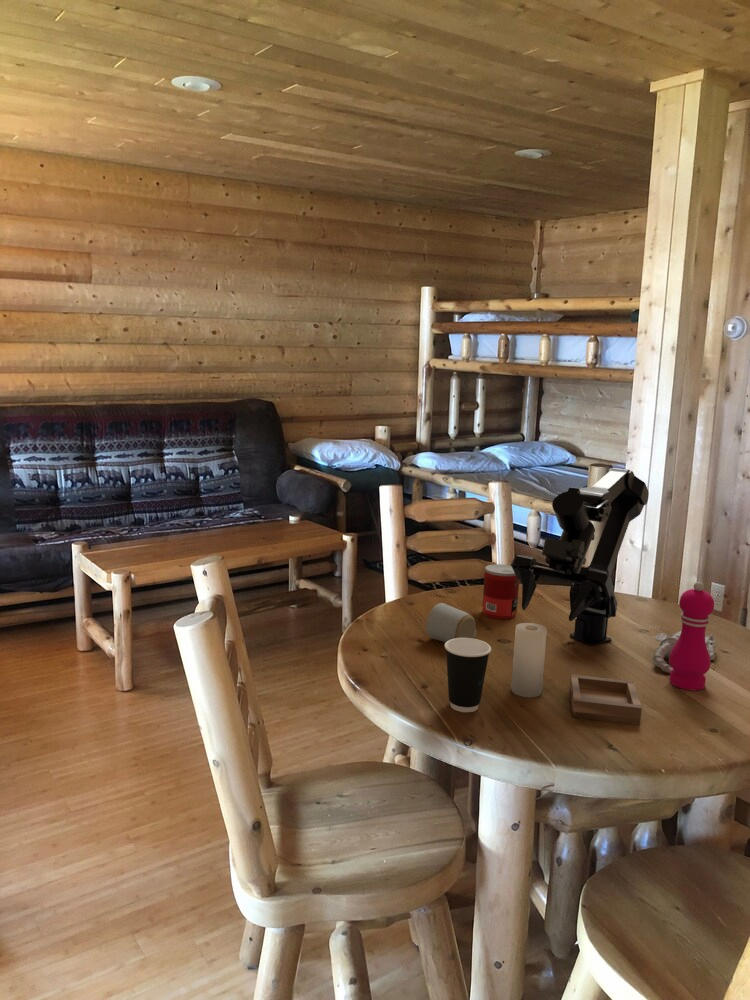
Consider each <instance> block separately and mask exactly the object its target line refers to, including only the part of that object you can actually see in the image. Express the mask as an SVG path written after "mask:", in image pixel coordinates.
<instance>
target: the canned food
mask: <svg viewBox="0 0 750 1000" xmlns="http://www.w3.org/2000/svg"><path fill="white" fill-rule="evenodd" d="M519 590H520V580H519V579H517V577H516V575H515V573H514V571H513V568H512V566H511V565H509V564H503V563H502V564H501V563H500V564H499V563H497V564H496V563H495V564H489V565H486V566H485V569H484V576H483V594H482V613H483V615H484V616H486V617H488V618H491V619H495V620H510V619H513V618H515V617H516V616H517V612H518V602H519V601H518V600H519Z"/></svg>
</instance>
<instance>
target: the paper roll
mask: <svg viewBox="0 0 750 1000" xmlns="http://www.w3.org/2000/svg"><path fill="white" fill-rule="evenodd" d="M547 632H548V629H547V628H546V626H544V625H541V624H539V623H533V622H520V623H518V624H516V625H515V633H514V645H513V647H514V648H513V660H512V670H511V671H512V673H511V686H510V691H511V692H512V693H513V694H515V695H517V696H520V697H522V698H537V697H540V696H541V695H542V694H543V681H544V680H543V679H544V672H545V671H544V670H545V669H544V668H545V657H546V646H547V645H546V644H547V634H548V633H547Z"/></svg>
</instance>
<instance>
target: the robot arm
mask: <svg viewBox="0 0 750 1000" xmlns="http://www.w3.org/2000/svg"><path fill="white" fill-rule="evenodd" d="M649 495H650V494H649V489H648V486H647V484H646V483H645V481H643V480H642V479H640V478H639V477H637V476H636V475H635V474H634V472H633V470H631V469H627V468H619V467H612V468H608V470H607V471H606V474H605V475H603V476H602V477H601V478H600V479H599V480H598V481H597V482H596V483H594V484H593V485H592V486H589V487H588V486H587V487H580V488H578V487H574V486H573V487H572V486H569V487H568V490H567V491H564V492H561V493H559V494H558V495H557V496H556V497H554V499H553V500H552V503H551V507H552V509H553V512H554V515H555V517H556V521H557V524H558V526H559V528H560V529H562V532H561V534H560V538H559V539H554V538H549V537H545V539H544V543H543V547H542V551H541V555H542V556H545V560H544V561H545V563H546V564H548V567H547V566H542V565H539V564H538V563H537V560H536V558H535V557H531V556H529V555H528V556H527V555H521V554H517V555H515V556H514V557H513V559H512V561H511V563H510V566H512V568H513V571H514V573H515V575H516V577H517V579H519V582H520V583H521V586H522V588H521V590H522V591H521V592H522V593H521V608H522V609H521V610H523V611H526V609H527V608H528V607H529V605H530V603H531V600H532V598H533V596H534V593H535V591H536V588H537V587H538V585H537V583H536V582H538V580H539V579H540V578H539V577H543V578H547V579H552V580H556V581H562V582H566V583H570V584H571V583H572V584H571V586H570V589H569V607H570V612H569V615H568V620H569V622H573V620H574V630H573V631H574V632H570V633H569V637H571V638H573V639H575V640H577V641H579V642H581V643H584V644H586V645H589V646H595V645H600V644H604V643H609V642H612V640H613V639H612V638H611V637H608V636H607V635H608V634H607V633H608V632H607V631H608V624H609V623H608V622H609V619H610V618H615V617H616V616H617V609H618V602H617V599H616V595H615V593H614V590H615V588H614V584H613V581H612V578H611V575H612V572H613V569H614V567H615V564H616V561H617V559H618V556H619V553H620V550H621V547H622V544H623V542H624V539H625V535H626V532H627V530H628V527H629V525H630V522H632V521H633V520H634V519H636V518H638V516H640V515H641V514H642V512H643V509H644V506H646V505H647V504H648V501H649ZM606 518H607V519H606ZM605 519H606V521H605ZM604 521H605V525H604V526H603V529H602V531H601V534H600V537H599V540H598V542H597V544H596V545H597V546H596V549H595V551H594V553H593V555H592V559H591V561H590V564H589V565H588V566H587V567H585V566H583V565H586V562H587V558H586V556H587V553H588V550H589V549H590V545H591V542H592V541H595V538H596V537H595V532H596V528H595V525H594V524H593V523H592V522H597V523H603V522H604Z"/></svg>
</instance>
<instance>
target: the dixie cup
mask: <svg viewBox="0 0 750 1000" xmlns="http://www.w3.org/2000/svg"><path fill="white" fill-rule="evenodd" d="M444 649H445V651H446V653H445V654H446V671H447V672H446V673H447V674H446V675H447V687H448V688H447V690H448V691H447V692H448V693H447V694H448V701H449V703H450V704H449V706H450V707H451V709H453V710H455V711H457V712H460V713H472V712H473V713H474V712H475V711H477V710H478V708H479V705H480V704H481V700H482V695H483V690H484V688H483V687H484V683H485V677H486V673H487V666H488V661H489V656H490V653H491V651H492V646H490V644H489V643H487V642H486V641H483V640H481V639H477V638H473V637H472V638H455V639H451V640H449V641H447V642H446V643H445V642H444Z"/></svg>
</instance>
